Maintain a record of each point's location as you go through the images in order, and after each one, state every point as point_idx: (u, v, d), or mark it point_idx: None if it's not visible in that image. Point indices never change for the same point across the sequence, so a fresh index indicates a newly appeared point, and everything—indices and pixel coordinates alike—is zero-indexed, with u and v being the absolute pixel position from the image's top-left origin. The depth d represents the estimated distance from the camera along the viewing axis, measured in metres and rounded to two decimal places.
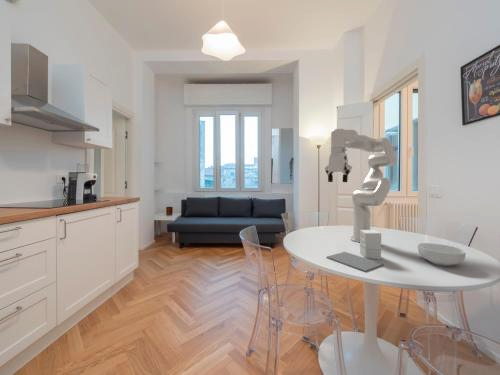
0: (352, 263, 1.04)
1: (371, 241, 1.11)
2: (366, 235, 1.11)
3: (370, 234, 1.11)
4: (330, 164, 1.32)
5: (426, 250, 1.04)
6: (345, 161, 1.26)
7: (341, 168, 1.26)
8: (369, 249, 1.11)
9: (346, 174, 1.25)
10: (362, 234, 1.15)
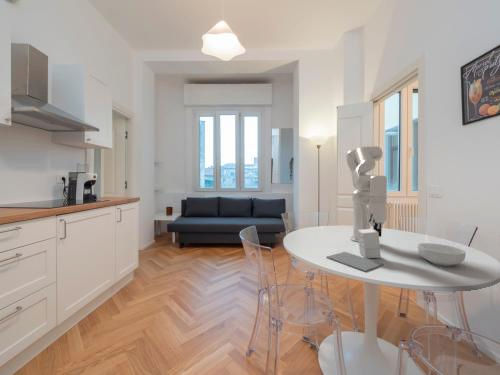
0: (352, 263, 1.04)
1: (369, 240, 1.11)
2: (364, 235, 1.11)
3: (367, 234, 1.11)
4: (378, 215, 1.13)
5: (426, 250, 1.04)
6: None
7: (386, 218, 1.17)
8: (368, 249, 1.11)
9: None
10: (360, 234, 1.15)
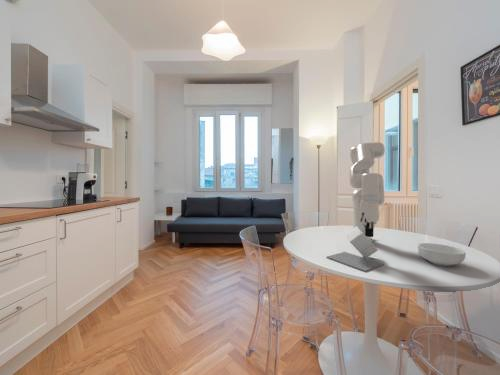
0: (352, 263, 1.04)
1: (359, 244, 1.09)
2: (351, 243, 1.10)
3: (354, 240, 1.09)
4: (370, 214, 1.09)
5: (426, 250, 1.04)
6: None
7: (378, 218, 1.13)
8: (362, 250, 1.10)
9: None
10: (349, 240, 1.13)
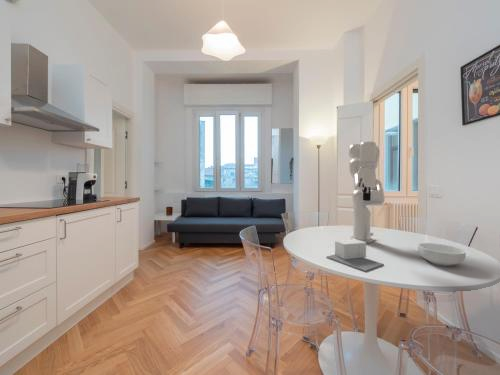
0: (352, 263, 1.04)
1: (351, 253, 1.09)
2: (346, 258, 1.09)
3: (345, 254, 1.09)
4: (367, 179, 1.18)
5: (426, 250, 1.04)
6: None
7: (375, 184, 1.22)
8: (358, 254, 1.10)
9: None
10: None
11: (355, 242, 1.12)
